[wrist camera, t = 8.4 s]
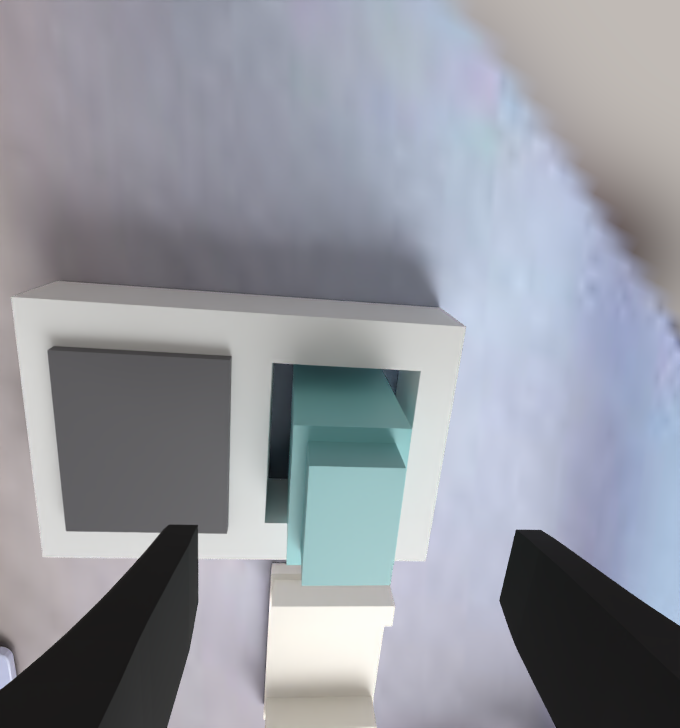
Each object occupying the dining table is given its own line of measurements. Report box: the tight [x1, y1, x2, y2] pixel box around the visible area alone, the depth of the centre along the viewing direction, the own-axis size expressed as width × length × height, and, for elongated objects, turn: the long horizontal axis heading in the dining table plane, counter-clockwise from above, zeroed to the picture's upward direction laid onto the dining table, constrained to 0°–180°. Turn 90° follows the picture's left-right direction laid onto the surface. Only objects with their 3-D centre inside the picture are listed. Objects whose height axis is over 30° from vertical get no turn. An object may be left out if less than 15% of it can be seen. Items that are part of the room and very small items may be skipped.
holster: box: [263, 563, 395, 728], centre depth 21 cm, size 5×8×2 cm, turn 175°
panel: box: [11, 281, 466, 561], centre depth 17 cm, size 13×9×3 cm
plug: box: [286, 364, 412, 586], centre depth 16 cm, size 3×4×6 cm
